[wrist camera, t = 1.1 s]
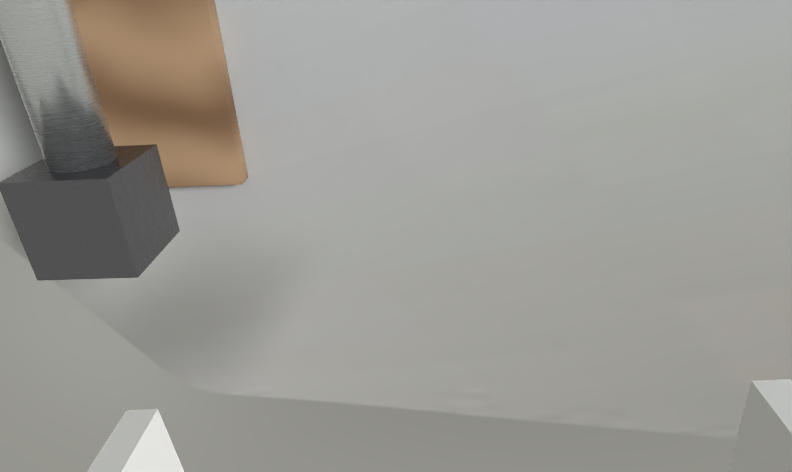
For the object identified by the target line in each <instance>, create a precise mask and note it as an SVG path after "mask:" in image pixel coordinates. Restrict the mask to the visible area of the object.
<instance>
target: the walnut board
mask: <svg viewBox="0 0 792 472" xmlns="http://www.w3.org/2000/svg"><path fill="white" fill-rule="evenodd" d="M71 4H72V7H73V10H74V14H75V17H76V20H77V24H78V27H79V30H80V34H81V37H82V40H83V43H84V47H85V50H86V53H87V57H88V60H89V63H90V67H91V70H92V73H93V77H94V80H95V83H96V87H97V90H98V93H99V97H100V100H101V103H102V107H103V110H104V113H105V117H106V120H107V123H108V127H109V130H110V133H111V136H112V140H113V143H114V146H128V145H150V144H157V147H158V151H159V155H160V159H161V163H162V166H163V170H164V174H165V178H166V181H167V185H168V187H187V186H211V185H236V184H243V183H244V182H245V181H246V179H247V178H248V174H247V169H246V164H245V159H244V154H243V148H242V143H241V138H240V133H239V127H238V122H237V117H236V112H235V107H234V101H233V96H232V91H231V86H230V80H229V75H228V70H227V65H226V60H225V54H224V49H223V44H222V39H221V33H220V28H219V23H218V18H217V13H216V7H215V2H214V0H71Z"/></svg>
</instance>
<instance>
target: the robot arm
mask: <svg viewBox="0 0 792 472" xmlns="http://www.w3.org/2000/svg"><path fill="white" fill-rule="evenodd" d="M87 472H184V471H183V468H182V466H181V463H180V461H179V458H178V456H177V454H176V451H175V449H174V447H173V444H172V442H171V439H170V437H169V435H168V432H167V430H166V427H165V425H164V423H163V420H162V418H161V415H160V413H159V411H158V409H146V410H127V411H126V412H125V414H124V415H123V417H122V418H121V420H120V421H119V423H118V424H117V426H116V428H115V429H114V431H113V432H112V434H111V435H110V437H109V438H108V440H107V441H106V443H105V444H104V446H103V448H102V449H101V451H100V452H99V454H98V455H97V457H96V458H95V460H94V461H93V463H92V464H91V466H90V468H89V469H88V471H87ZM729 472H792V381H791V380H790V379H783V380H761V381H751V385H750V389H749V392H748V396H747V400H746V404H745V408H744V412H743V416H742V420H741V424H740V428H739V432H738V436H737V440H736V444H735V448H734V451H733V455H732V459H731V464H730V467H729Z"/></svg>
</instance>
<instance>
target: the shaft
mask: <svg viewBox="0 0 792 472" xmlns="http://www.w3.org/2000/svg"><path fill="white" fill-rule="evenodd" d="M0 40H1V43H2V46H3V48H4V51H5V54H6V57H7V59H8V62H9V65H10V67H11V70H12V73H13V76H14V78H15V81H16V84H17V87H18V89H19V92H20V95H21V98H22V100H23V103H24V106H25V109H26V111H27V114H28V117H29V119H30V122H31V125H32V128H33V130H34V133H35V136H36V139H37V141H38V144H39V147H40V150H41V152H42V155H43V158H44V159H43V160H41V161H39V162H37V163H35V164H33V165H31V166H29V167H27V168H26V169H24V170H22V171H20V172H18V173H16V174H14V175H12V176H10V177H8V178H7V179H5V180H3V181H1V182H0V191H1V193H2V196H3V198H4V201H5V203H6V205H7V208H8V210H9V213H10V215H11V217H12V220H13V222H14V225H15V227H16V230H17V232H18V234H19V237H20V239H21V242H22V244H23V246H24V249H25V251H26V254H27V256H28V258H29V261H30V263H31V266H32V268H33V270H34V273H35V275H36V278H37V280H67V279H100V278H133V277H139V276H140V275H141V274H142V272H143V271H144V270H145V269H146V268H147V267H148V266H149V265H150V263H151V262H152V261H153V260H154V259H155V258H156V257H157V256H158V254H159V253H160V252H161V251H162V250H163V249H164V248H165V247H166V246H167V244H168V243H169V242H170V241H171V240H172V239H173V238H174V237H175V235H176V234H177V233H178V232H179V227H178V223H177V219H176V216H175V212H174V208H173V204H172V200H171V197H170V193H169V189H168V185H167V181H166V178H165V174H164V170H163V166H162V163H161V159H160V155H159V151H158V147H157V144H150V145H128V146H114V143H113V140H112V136H111V133H110V130H109V127H108V123H107V120H106V117H105V113H104V110H103V107H102V103H101V100H100V97H99V93H98V90H97V87H96V83H95V80H94V77H93V73H92V70H91V67H90V63H89V60H88V57H87V53H86V50H85V47H84V43H83V40H82V37H81V34H80V30H79V27H78V24H77V20H76V17H75V14H74V10H73V7H72V4H71V0H0Z"/></svg>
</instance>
